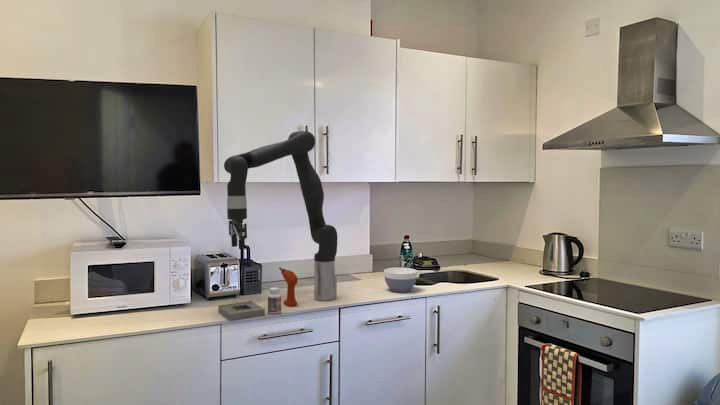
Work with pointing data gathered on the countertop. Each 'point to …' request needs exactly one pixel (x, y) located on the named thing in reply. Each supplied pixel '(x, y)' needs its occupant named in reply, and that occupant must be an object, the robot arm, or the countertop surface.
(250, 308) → the grey flat square block
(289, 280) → the toy drill
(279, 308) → the pill bottle
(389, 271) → the bowl
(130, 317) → the countertop surface
